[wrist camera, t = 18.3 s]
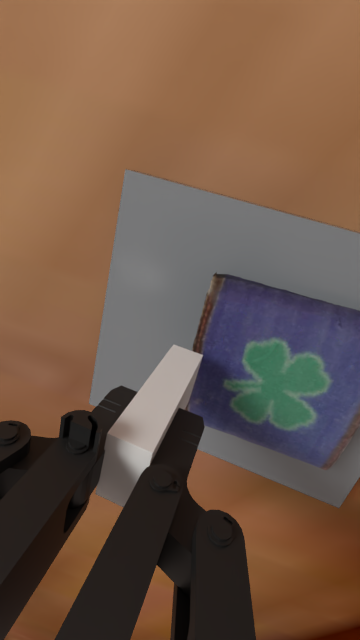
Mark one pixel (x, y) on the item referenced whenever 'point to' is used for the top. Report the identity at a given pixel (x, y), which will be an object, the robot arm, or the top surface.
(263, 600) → the top surface
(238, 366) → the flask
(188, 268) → the slate board
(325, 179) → the top surface
